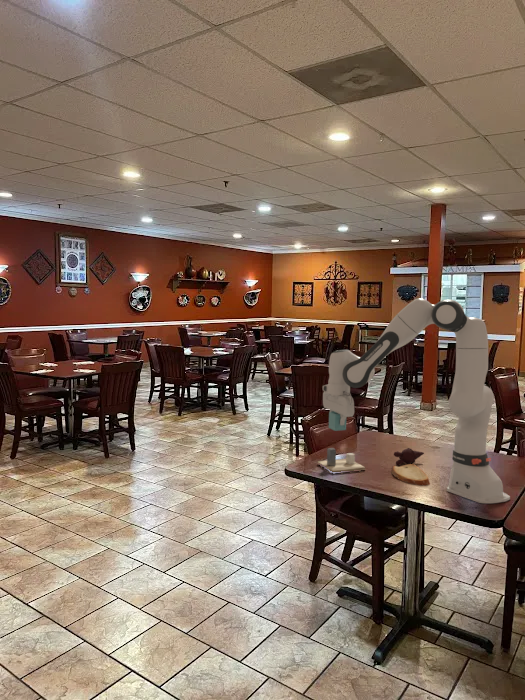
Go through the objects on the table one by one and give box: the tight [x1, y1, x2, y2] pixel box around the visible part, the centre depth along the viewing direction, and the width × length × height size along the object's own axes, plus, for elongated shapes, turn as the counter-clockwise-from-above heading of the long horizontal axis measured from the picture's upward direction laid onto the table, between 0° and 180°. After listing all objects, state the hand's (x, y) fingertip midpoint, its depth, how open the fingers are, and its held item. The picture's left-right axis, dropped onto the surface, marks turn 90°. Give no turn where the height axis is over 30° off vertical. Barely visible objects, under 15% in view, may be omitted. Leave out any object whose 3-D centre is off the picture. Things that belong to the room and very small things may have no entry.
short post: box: [345, 452, 356, 464], centre depth 230 cm, size 3×3×4 cm
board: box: [316, 458, 366, 472], centre depth 229 cm, size 14×15×2 cm
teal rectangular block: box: [328, 411, 348, 432], centre depth 222 cm, size 5×5×7 cm
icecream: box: [393, 447, 425, 466], centre depth 236 cm, size 7×7×15 cm
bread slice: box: [390, 463, 431, 486], centre depth 218 cm, size 18×18×4 cm
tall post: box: [326, 447, 337, 466], centre depth 227 cm, size 3×3×7 cm
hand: (337, 423), depth 222 cm, fingers closed on teal rectangular block, 5 cm apart
